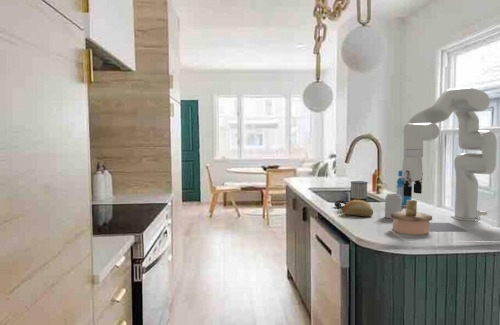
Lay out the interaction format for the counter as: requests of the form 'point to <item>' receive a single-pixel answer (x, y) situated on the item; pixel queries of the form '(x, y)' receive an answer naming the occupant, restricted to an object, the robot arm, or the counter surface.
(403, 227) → the bowl
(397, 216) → the lid
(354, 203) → the bread roll
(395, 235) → the counter surface
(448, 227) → the mat
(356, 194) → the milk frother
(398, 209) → the can
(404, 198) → the beverage bottle
